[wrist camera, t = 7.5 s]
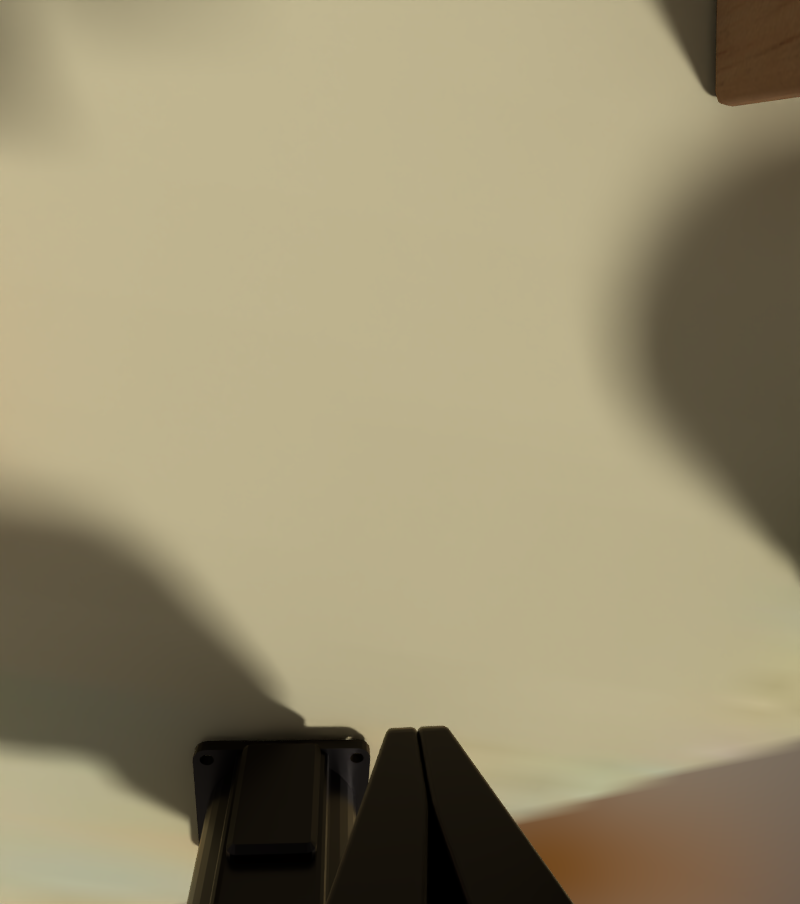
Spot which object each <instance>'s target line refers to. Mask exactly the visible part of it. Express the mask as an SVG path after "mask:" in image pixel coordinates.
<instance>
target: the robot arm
mask: <svg viewBox="0 0 800 904" xmlns="http://www.w3.org/2000/svg"><path fill="white" fill-rule="evenodd" d="M355 753H360V754H355ZM205 755H210V756H205ZM369 766H370V748H369V745H368V744H367V743H366V742H364V741H362V740H277V741H206V742H202V743H200V744H198V746H197V747H196V749H195V753H194V757H193V769H194V782H195V795H196V808H197V821H198V834H199V848H198V853H197V858H196V862H195V867H194V872H193V877H192V881H191V886H190V891H189V896H188V900H187V904H573V902H572V901H571V899H570V898H569V897H568V895H567V894H566V892H565V891H564V889H563V888H562V887H561V885H560V884H559V883H558V881H557V880H556V878H555V877H554V876H553V874H552V873H551V871H550V870H549V869H548V867H547V866H546V864H545V863H544V861H543V860H542V859H541V857H540V856H539V855H538V853H537V852H536V850H535V849H534V847H533V846H532V845H531V843H530V842H529V840H528V839H527V838H526V836H525V835H524V833H523V832H522V831H521V829H520V828H519V826H518V825H517V824H516V822H515V821H514V819H513V818H512V817H511V815H510V814H509V812H508V811H507V810H506V808H505V807H504V805H503V804H502V803H501V801H500V800H499V798H498V797H497V796H496V794H495V793H494V791H493V790H492V789H491V787H490V786H489V784H488V783H487V782H486V780H485V779H484V777H483V776H482V775H481V773H480V772H479V770H478V769H477V768H476V766H475V765H474V763H473V762H472V761H471V759H470V758H469V756H468V755H467V754H466V752H465V751H464V749H463V748H462V747H461V745H460V744H459V742H458V741H457V740H456V738H455V737H454V735H453V734H452V733H451V731H450V730H449V729H448V728H447V727H445V726H426V727H420V728H419V729H418V731H416V729H415V728H413V727H406V728H391V729H389V730H388V731H387V732H386V734H385V737H384V740H383V743H382V745H381V748H380V751H379V754H378V757H377V760H376V762H375V765H374V768H373V771H372V774H371V777H370V779H369ZM368 781H369V782H368Z"/></svg>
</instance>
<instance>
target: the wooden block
mask: <svg viewBox="0 0 800 904" xmlns="http://www.w3.org/2000/svg"><path fill="white" fill-rule="evenodd" d="M715 92H716V95H717V99H718V102H720V103H721V104H725V105H729V106H738V105H745V104H752V103H759V102H766V101H773V100H780V99H787V98H794V97H800V0H717V11H716V88H715Z"/></svg>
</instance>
